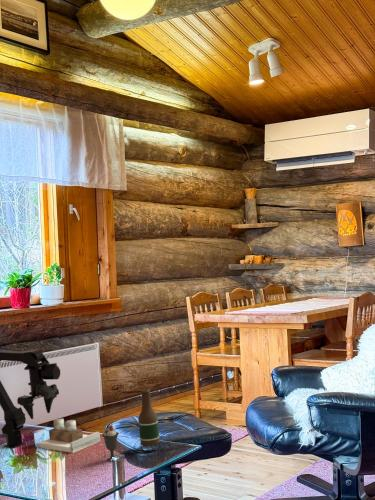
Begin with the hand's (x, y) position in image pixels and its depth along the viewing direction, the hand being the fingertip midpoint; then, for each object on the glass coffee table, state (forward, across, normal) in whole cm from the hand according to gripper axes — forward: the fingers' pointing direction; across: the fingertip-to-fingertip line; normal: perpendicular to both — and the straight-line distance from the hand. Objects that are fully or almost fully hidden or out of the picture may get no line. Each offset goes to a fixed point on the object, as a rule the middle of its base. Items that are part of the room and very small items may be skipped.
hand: (40, 415), depth 304 cm
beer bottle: (+13, +14, -48) cm, 52 cm away
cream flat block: (+13, +6, -10) cm, 17 cm away
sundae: (+13, -2, -42) cm, 44 cm away
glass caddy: (+11, +6, -8) cm, 15 cm away
